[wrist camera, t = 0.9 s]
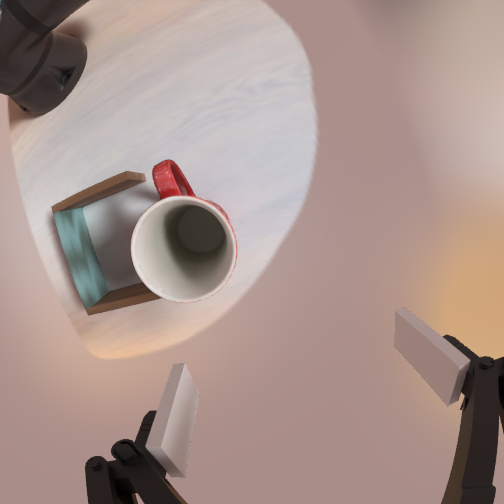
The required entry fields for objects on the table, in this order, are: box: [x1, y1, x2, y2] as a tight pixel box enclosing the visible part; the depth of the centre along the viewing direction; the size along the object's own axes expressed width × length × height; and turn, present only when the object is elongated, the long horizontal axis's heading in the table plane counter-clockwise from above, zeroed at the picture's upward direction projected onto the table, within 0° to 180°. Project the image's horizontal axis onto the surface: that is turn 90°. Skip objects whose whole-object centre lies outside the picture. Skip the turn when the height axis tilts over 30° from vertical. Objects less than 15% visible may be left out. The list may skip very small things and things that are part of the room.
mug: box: [131, 160, 237, 303], centre depth 27 cm, size 13×9×14 cm
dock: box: [52, 171, 162, 315], centre depth 31 cm, size 15×12×6 cm
